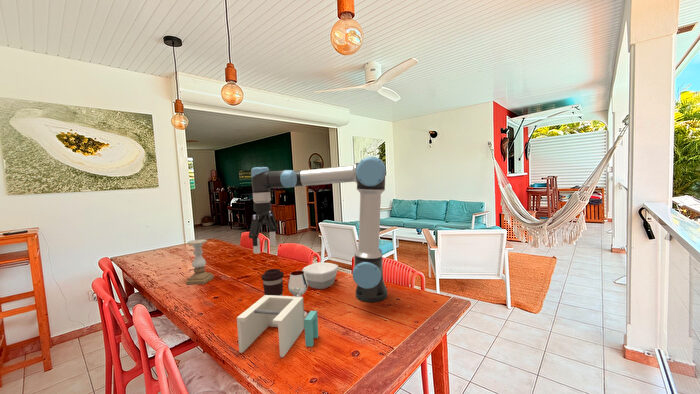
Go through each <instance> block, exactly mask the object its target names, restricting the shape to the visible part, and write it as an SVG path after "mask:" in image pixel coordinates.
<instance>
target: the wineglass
mask: <svg viewBox="0 0 700 394" xmlns="http://www.w3.org/2000/svg"><path fill="white" fill-rule="evenodd" d="M308 287H309V286H308V283H307V279H306V276H305V273H304V272H303V271H302V270H295V271H291V272H290V273H289V278H288V284H287V289H288V292H289V293H290V294H291V295H292V296H293V297H303V295H304V294H305V293H306V292H307V290H308ZM307 315H308V312H307V311H305V310H304V318H306V316H307Z"/></svg>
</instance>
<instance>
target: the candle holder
mask: <svg viewBox="0 0 700 394" xmlns="http://www.w3.org/2000/svg"><path fill="white" fill-rule="evenodd" d="M207 242H208V239H204V238H203V239H194V240H189V241H188V242H187V245H189V246H192V247H193V249H194V250H193V252H192V253H193V254H194V259H193V260H192V263H191V266H192V267H193V268H194V269H193V272H194V273H193V274H192V275H191V276H189V277H188V278H187V281H185V284H186V286H190V285H191V286H192V285H195V286H196V285H206V284H207V283H208V281H209V282H210V281H211V280H213V279H214V278H215V276H214V275H215V274H213V273H212V272H207V271H206V267H205V266H206V265H207V262H206V259H205V258H204V257H203V252H204V250H203V249H202V247H203V245H204V244H206V243H207Z"/></svg>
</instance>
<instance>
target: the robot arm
mask: <svg viewBox="0 0 700 394" xmlns="http://www.w3.org/2000/svg"><path fill="white" fill-rule="evenodd" d="M250 171H251V177H250V178H251V189H252V200H253V204H252V205H253V211H254V212H256V214H252V215H251V224H250V228H249V234H248V238H249V239H252V248H253V250H252V251H253V254H261V244H260V243H261V242H260V237H259V235H260V232H261V229H262V226H263V225H264V224H265V225H266V226H267V228H268V229H269V232H268V234H269V243H270V247H272V246H273V247H274V246H277V238H276V237H277V236H276V232H278V229H279V228H278V223H277V221H276V219H275V215H274V211H273V210H272V203H271V201H272V198H271V189H288V188H297V187H304V186H320V185H330V184H341V183H342V184H343V183H356V190H357V191H358V192H359V195H360V196H359V221H358V222H359V223H358V248H357V250H356V251H355V252H354V259H353V260H354V265H353V270H352V279H353V281H354V283H355V284H356V289H355V298H356V299H357V300H359V301H361V302H365V303H366V302H367V303H377V302H378V303H379V302H382V301H384V300H385V299H387V297H388V290H387V289H388V288H387V287H386V284H385V281H384V273H383V272H384V270H383V269H384V267H383V266H384V265H383V264H384V263H383V250H382V249H381V248H380V227H381V221H380V220H381V203H382V202H381V201H382V197H381V196H382V193H384V192H385V190H386V174H387V169H386V165H385V163H384V161H383V160H382V159H380V158H378V157H376V156H367V157H364V158H363V159H361V160H360V161H359V162H355V163H354V164H353V165H345V166H335V167H334V166H333V167H324V168H316V169H314V168H313V169H304V170H292V169H284V170H283V169H282V170H273V171H272V170H270V169H269V167H268V166H257V167H255V166H254V167H252V168H251V170H250Z"/></svg>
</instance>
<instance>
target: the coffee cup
mask: <svg viewBox="0 0 700 394" xmlns="http://www.w3.org/2000/svg"><path fill="white" fill-rule="evenodd" d="M283 278H284V272H283V271H281V269H278V268H270V269H267V270H265V271H264V273H263V274H261V280H262V282H263V283H262V286H263V294H264V295H275V296H283V294H284V291H283V290H284V280H283Z"/></svg>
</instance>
